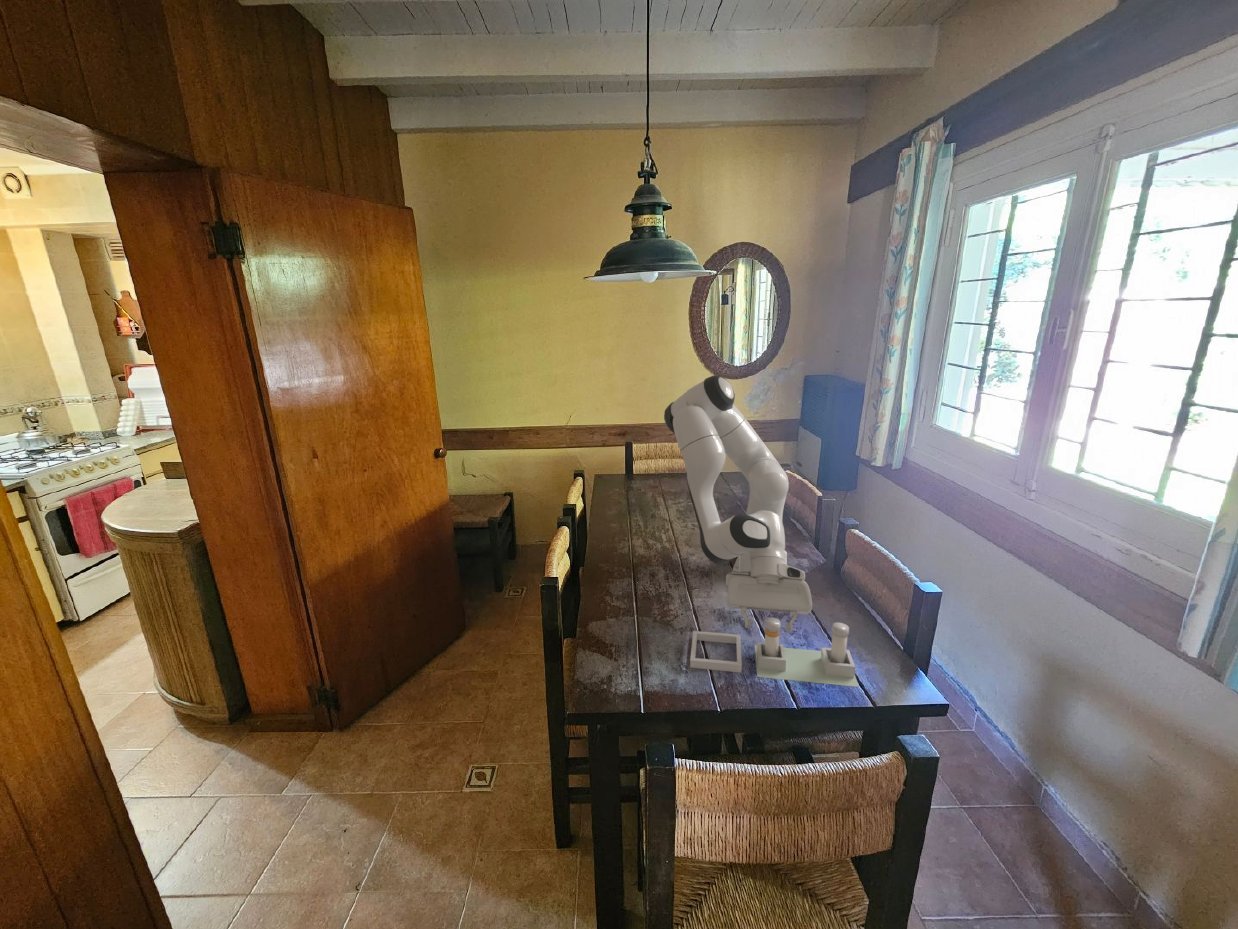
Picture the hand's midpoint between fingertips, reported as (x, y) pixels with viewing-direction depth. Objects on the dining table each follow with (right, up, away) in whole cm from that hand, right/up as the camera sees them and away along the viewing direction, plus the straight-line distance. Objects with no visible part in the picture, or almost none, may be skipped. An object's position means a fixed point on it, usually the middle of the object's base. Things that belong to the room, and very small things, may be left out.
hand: (768, 629), depth 122 cm
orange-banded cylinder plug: (+1, -8, 0) cm, 8 cm away
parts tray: (-12, -8, +4) cm, 15 cm away
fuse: (+15, -8, -3) cm, 18 cm away
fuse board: (+8, -9, -1) cm, 12 cm away
